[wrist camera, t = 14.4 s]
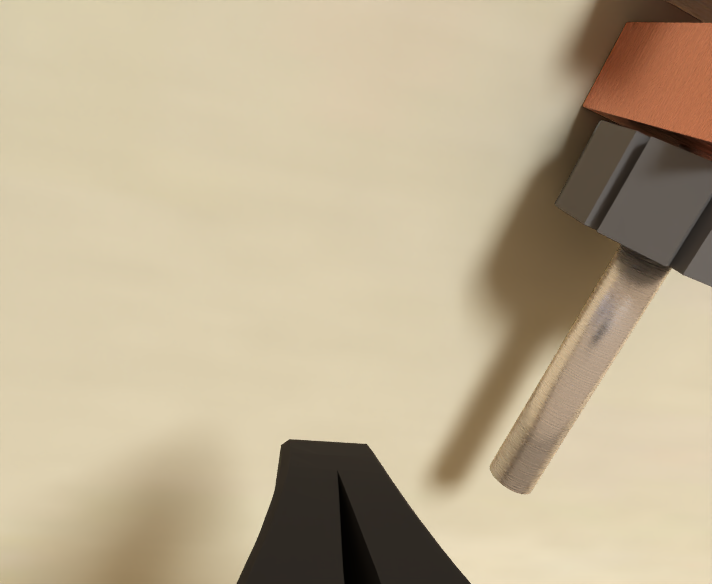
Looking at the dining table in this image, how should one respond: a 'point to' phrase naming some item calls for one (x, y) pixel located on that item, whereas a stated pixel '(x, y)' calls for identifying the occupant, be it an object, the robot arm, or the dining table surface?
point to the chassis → (627, 268)
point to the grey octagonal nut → (645, 198)
